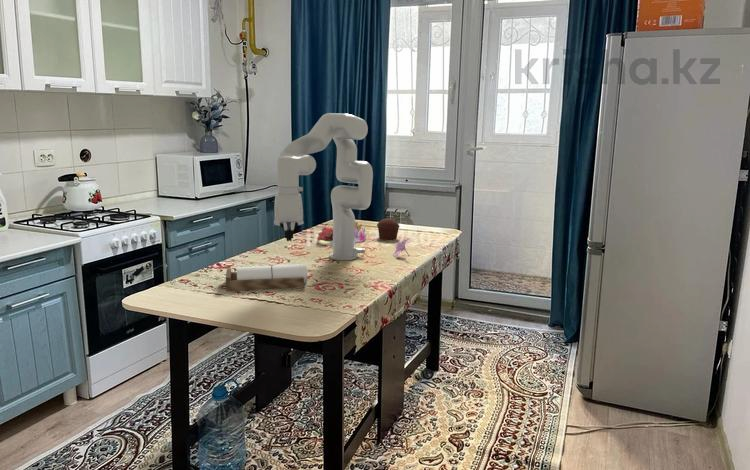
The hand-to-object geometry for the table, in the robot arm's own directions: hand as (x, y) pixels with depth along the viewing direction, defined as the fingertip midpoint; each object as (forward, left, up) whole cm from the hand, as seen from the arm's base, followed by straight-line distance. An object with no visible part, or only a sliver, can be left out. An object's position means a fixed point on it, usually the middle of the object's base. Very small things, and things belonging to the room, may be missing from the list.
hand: (289, 240), depth 207 cm
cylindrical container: (-6, 0, -13) cm, 14 cm away
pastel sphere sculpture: (-30, -66, -17) cm, 74 cm away
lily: (-51, -32, -17) cm, 63 cm away
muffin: (-54, -67, -17) cm, 87 cm away
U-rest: (+8, 0, -17) cm, 18 cm away
